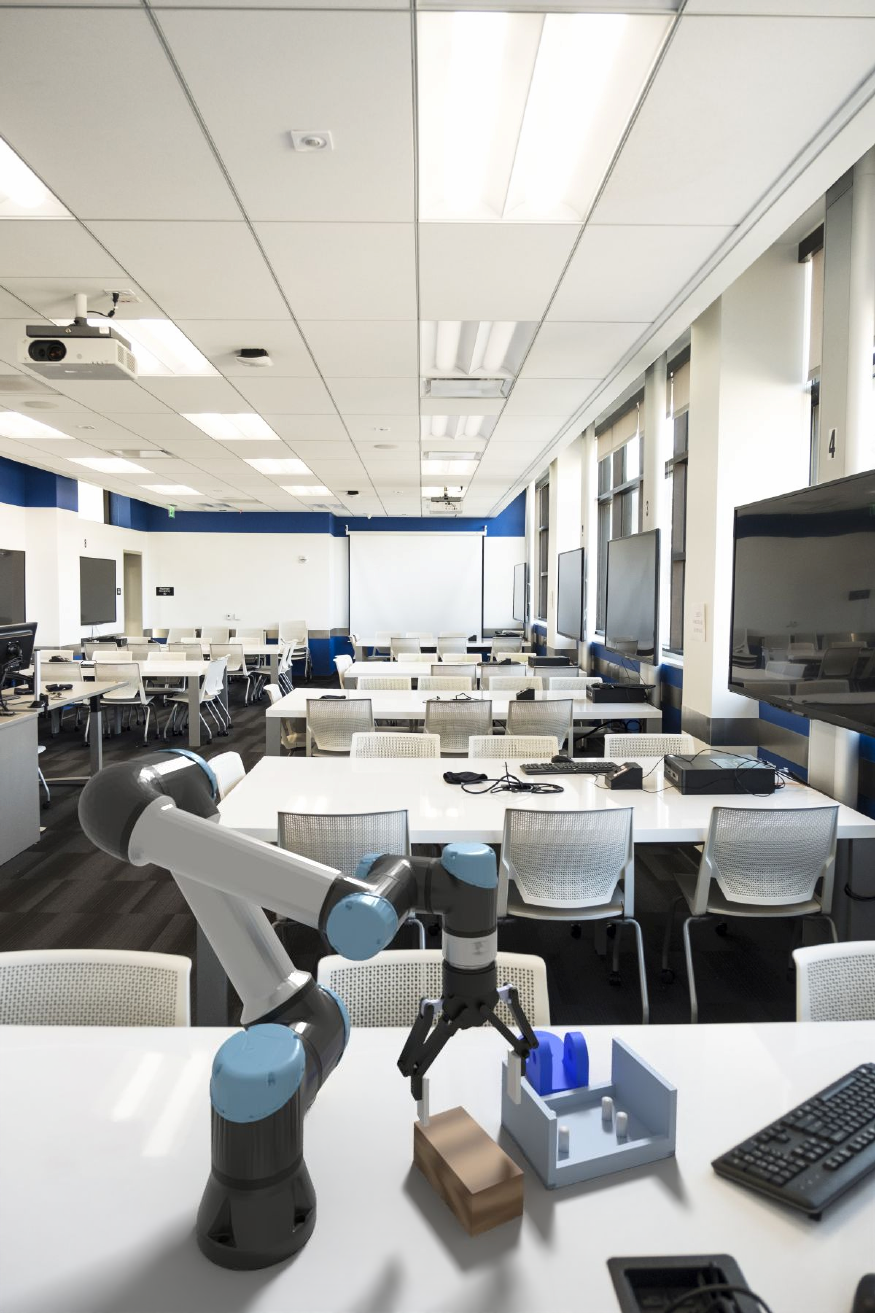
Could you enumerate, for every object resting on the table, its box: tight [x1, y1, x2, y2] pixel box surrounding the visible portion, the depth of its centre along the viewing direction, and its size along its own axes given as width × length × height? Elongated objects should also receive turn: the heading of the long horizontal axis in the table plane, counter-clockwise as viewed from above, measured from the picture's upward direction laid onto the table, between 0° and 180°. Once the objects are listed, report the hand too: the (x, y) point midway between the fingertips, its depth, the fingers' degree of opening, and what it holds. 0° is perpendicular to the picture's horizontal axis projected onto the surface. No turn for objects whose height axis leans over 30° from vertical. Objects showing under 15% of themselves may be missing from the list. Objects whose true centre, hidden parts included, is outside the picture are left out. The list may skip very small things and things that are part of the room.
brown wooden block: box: [412, 1105, 525, 1238], centre depth 107 cm, size 16×8×6 cm, turn 29°
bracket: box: [517, 1030, 590, 1097], centre depth 136 cm, size 18×8×9 cm, turn 9°
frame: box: [500, 1036, 678, 1191], centre depth 117 cm, size 21×15×10 cm
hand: (469, 1109), depth 107 cm, fingers open, 13 cm apart
